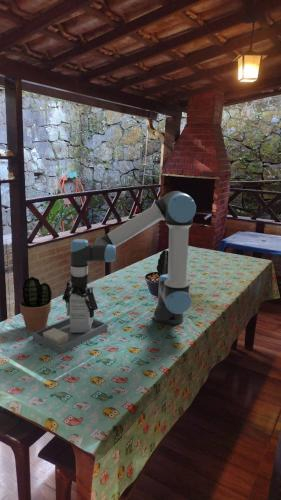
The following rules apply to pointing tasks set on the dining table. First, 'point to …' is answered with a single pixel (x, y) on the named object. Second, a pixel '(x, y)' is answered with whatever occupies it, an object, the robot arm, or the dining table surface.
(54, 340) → the beige block
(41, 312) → the potted plant
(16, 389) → the dining table surface
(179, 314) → the robot arm
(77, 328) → the supplement box
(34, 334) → the grey shallow rectangular tray
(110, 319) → the dining table surface
